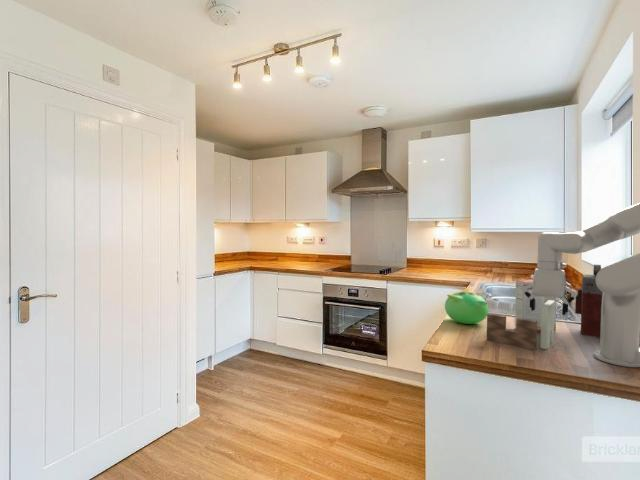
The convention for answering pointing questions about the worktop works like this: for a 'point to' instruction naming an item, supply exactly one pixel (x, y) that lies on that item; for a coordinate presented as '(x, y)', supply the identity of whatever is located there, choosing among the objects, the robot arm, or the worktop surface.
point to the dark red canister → (590, 304)
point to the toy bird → (466, 307)
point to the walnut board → (512, 331)
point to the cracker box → (524, 304)
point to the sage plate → (547, 323)
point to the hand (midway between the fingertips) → (548, 312)
